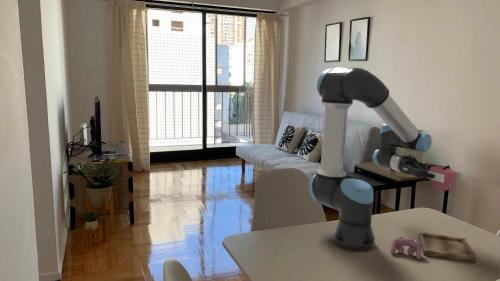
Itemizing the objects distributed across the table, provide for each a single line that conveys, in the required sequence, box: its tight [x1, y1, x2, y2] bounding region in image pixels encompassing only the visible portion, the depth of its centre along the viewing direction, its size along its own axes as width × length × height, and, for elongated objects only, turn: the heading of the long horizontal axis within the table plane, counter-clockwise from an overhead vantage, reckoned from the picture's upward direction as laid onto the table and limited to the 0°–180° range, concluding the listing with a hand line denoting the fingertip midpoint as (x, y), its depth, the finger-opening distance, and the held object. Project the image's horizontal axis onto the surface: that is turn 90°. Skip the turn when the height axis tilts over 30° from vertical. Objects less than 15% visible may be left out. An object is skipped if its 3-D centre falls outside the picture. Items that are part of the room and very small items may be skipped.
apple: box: [429, 164, 457, 191], centre depth 142 cm, size 10×9×10 cm
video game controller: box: [390, 236, 422, 261], centre depth 134 cm, size 10×5×7 cm, turn 66°
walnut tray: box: [418, 232, 477, 264], centre depth 138 cm, size 16×16×2 cm
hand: (452, 177), depth 138 cm, fingers closed on apple, 9 cm apart
